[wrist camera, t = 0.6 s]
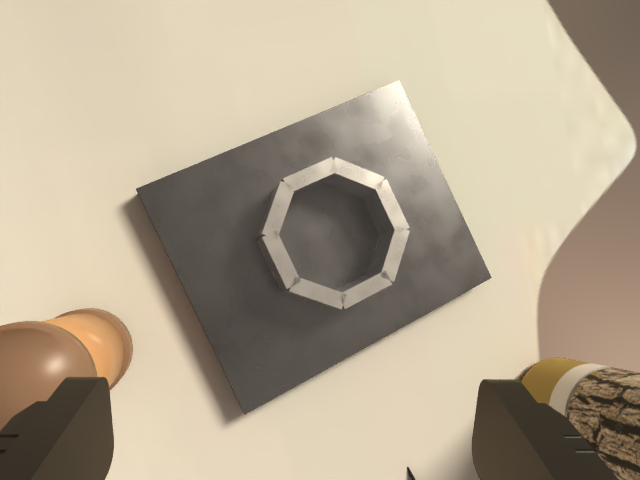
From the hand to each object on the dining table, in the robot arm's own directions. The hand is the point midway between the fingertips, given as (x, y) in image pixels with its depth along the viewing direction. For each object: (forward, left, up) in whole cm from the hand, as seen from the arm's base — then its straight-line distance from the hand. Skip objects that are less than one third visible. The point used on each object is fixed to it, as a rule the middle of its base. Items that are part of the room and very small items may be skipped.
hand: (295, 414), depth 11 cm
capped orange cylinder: (-3, -9, -24) cm, 26 cm away
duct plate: (-3, +8, -24) cm, 26 cm away
